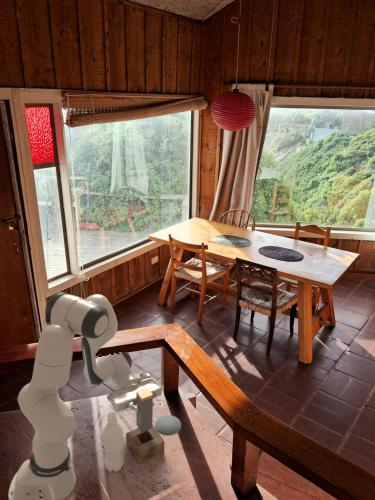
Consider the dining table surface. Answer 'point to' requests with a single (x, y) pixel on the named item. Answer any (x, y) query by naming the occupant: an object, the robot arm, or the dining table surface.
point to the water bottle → (113, 443)
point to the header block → (144, 443)
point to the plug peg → (144, 409)
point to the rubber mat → (168, 425)
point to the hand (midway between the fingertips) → (145, 408)
